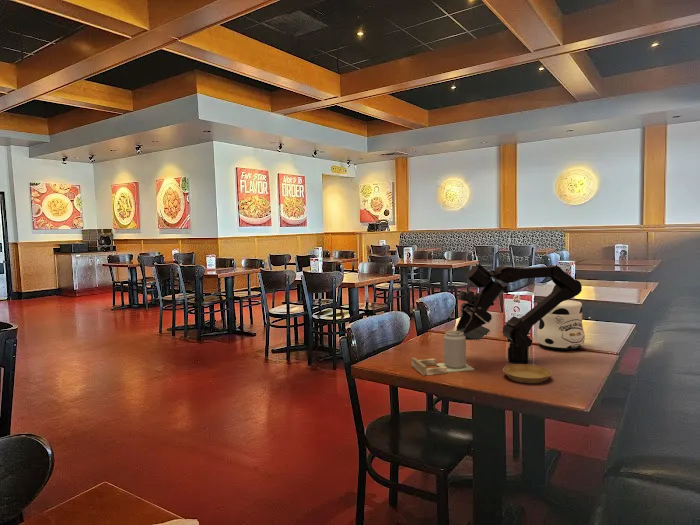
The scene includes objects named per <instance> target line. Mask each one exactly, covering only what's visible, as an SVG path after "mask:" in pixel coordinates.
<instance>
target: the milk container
mask: <svg viewBox="0 0 700 525" xmlns="http://www.w3.org/2000/svg"><path fill="white" fill-rule="evenodd" d="M538 322H539V323H538V328H537V331H536V332H537V333H536V337H537V342H538V343H539V345H540V346H542V347H544V348H547V349H552V350H559V351H560V350H561V351H572V350H577V349H580V348H582V347H583V346H584V344H585V340H586V334H585V330H584V327H583V303H582V302H581V301H578V300H571V299H568V300H566V301H563V302H561V303H560V304H559V305H557V306H556V307H555V308H554V309H553V310H551V311H550V312H549V313H548V314H546V315H545V316H544V317H543V318H542V319H540V320H539V321H538Z"/></svg>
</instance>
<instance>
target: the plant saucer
mask: <svg viewBox="0 0 700 525" xmlns="http://www.w3.org/2000/svg"><path fill="white" fill-rule="evenodd" d="M502 371H503V372H504V374H505V375H506V376H507V377H508V378H509V379H510V380H512V381H515V382H516V383H523V384H539V383H540V382H541V383H543V381H544V382H545V381H547V380H548V379H549V378H550V377H551V376H552V374H553V372H552V371H551V370H550V369H549V368H547V367H544V366H539V365H536V364H535V365H534V364H524V363H517V364H516V363H515V364H510V365H506V366H504V367H503V368H502ZM541 383H540V384H541Z"/></svg>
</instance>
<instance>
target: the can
mask: <svg viewBox="0 0 700 525" xmlns="http://www.w3.org/2000/svg"><path fill="white" fill-rule="evenodd" d="M463 334H464V333H463V332H460V331H456V330H449V331H446V332H445V334H444V336H443V363H444V364H445V365H446V366H447V367H449V368H463V367H464V366H465V365H466V364H467V344H466V343H467V342H466V341H467V339H466V337H465V336H464V335H463Z"/></svg>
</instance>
